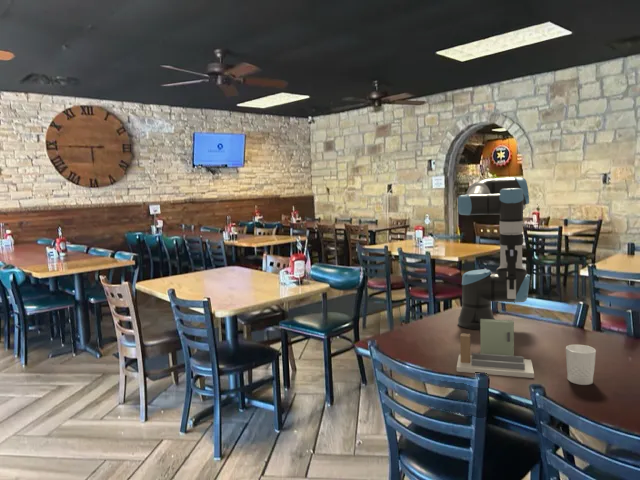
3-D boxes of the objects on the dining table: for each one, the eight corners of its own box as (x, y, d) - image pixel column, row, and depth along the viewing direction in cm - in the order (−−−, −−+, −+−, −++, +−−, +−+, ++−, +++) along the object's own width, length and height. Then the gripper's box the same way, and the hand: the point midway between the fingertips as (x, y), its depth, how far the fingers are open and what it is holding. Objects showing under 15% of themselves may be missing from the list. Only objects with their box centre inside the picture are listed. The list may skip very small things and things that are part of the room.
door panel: (480, 355, 171) (480, 321, 170) (480, 351, 175) (480, 318, 174) (513, 357, 168) (514, 323, 166) (513, 353, 171) (513, 320, 170)
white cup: (594, 388, 141) (595, 354, 140) (564, 383, 145) (564, 350, 144) (595, 378, 148) (596, 346, 146) (566, 373, 152) (567, 343, 151)
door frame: (456, 371, 157) (456, 340, 156) (458, 358, 168) (458, 329, 167) (534, 378, 150) (534, 345, 148) (530, 364, 161) (531, 333, 160)
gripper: (524, 237, 154) (524, 303, 156) (521, 229, 177) (521, 286, 179) (499, 237, 156) (499, 302, 159) (499, 229, 180) (500, 286, 182)
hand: (511, 294), depth 169 cm, fingers open, 13 cm apart
